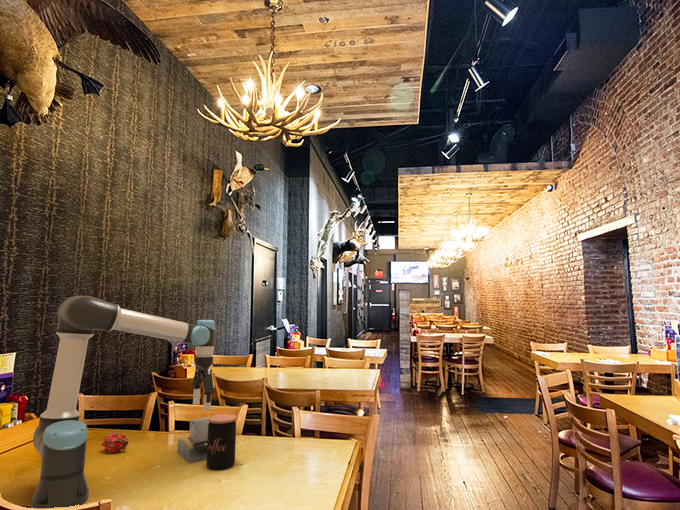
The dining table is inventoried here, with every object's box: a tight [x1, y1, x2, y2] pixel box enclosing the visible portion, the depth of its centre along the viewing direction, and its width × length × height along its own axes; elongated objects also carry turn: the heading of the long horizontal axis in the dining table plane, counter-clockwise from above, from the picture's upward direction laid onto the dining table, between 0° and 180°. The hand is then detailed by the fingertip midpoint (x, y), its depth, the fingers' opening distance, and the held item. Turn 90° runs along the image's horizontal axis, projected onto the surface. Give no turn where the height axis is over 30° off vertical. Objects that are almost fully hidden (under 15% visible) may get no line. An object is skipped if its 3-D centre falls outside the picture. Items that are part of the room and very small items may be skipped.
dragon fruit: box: [101, 431, 130, 454], centre depth 179 cm, size 8×8×12 cm
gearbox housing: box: [176, 433, 207, 464], centre depth 177 cm, size 16×17×7 cm
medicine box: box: [188, 416, 209, 444], centre depth 177 cm, size 8×4×9 cm, turn 136°
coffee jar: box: [206, 413, 237, 471], centre depth 164 cm, size 11×11×18 cm
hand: (201, 407), depth 178 cm, fingers open, 13 cm apart
